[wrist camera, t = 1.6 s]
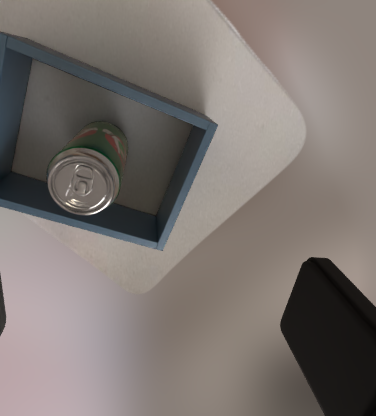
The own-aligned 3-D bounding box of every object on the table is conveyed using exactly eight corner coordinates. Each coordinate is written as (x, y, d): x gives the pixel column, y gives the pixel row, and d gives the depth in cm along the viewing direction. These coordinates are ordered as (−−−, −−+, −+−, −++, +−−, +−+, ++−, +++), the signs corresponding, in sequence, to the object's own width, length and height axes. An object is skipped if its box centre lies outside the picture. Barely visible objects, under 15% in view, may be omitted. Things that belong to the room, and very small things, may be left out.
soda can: (74, 161, 31) (37, 211, 20) (82, 113, 29) (46, 140, 18) (122, 173, 32) (110, 226, 21) (133, 128, 30) (126, 162, 20)
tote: (1, 175, 31) (-30, 198, 25) (26, 38, 26) (-5, 30, 20) (159, 223, 35) (162, 251, 30) (205, 115, 31) (218, 124, 25)
